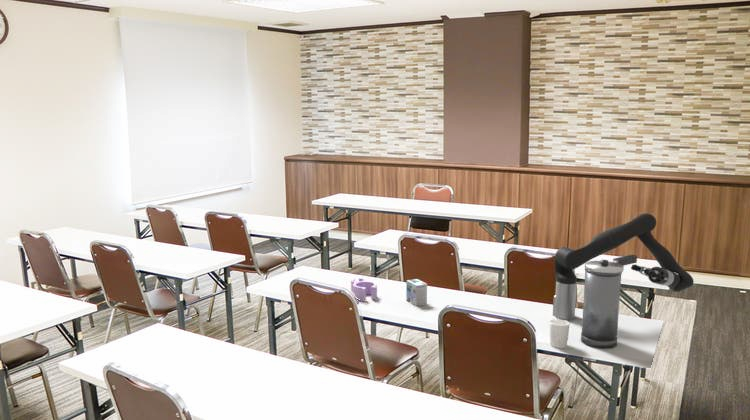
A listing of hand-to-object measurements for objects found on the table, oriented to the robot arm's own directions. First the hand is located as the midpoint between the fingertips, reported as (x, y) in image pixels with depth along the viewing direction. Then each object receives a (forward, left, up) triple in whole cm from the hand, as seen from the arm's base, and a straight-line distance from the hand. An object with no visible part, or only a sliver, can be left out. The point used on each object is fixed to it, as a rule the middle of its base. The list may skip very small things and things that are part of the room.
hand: (640, 270), depth 262 cm
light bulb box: (-85, -59, -28) cm, 107 cm away
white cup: (-7, -43, -28) cm, 52 cm away
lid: (0, -19, +4) cm, 19 cm away
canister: (0, -26, -28) cm, 38 cm away
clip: (-110, -76, -28) cm, 136 cm away
